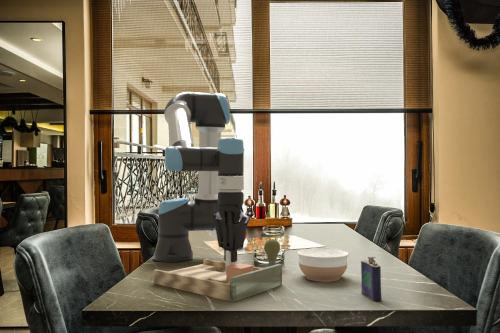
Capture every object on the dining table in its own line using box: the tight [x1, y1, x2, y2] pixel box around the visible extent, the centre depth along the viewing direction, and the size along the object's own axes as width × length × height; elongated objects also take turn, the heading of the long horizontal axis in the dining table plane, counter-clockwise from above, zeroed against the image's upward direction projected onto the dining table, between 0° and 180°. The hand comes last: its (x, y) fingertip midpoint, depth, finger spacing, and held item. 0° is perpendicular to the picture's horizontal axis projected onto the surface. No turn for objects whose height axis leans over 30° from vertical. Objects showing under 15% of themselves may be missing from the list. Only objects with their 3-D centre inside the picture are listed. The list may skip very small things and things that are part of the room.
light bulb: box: [263, 238, 281, 267], centre depth 151 cm, size 6×6×10 cm
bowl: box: [297, 247, 350, 283], centre depth 136 cm, size 16×16×8 cm
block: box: [226, 262, 255, 281], centre depth 122 cm, size 6×6×4 cm
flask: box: [360, 256, 383, 303], centre depth 114 cm, size 9×3×11 cm, turn 8°
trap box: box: [153, 258, 283, 303], centre depth 127 cm, size 31×22×6 cm
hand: (230, 272), depth 124 cm, fingers closed
